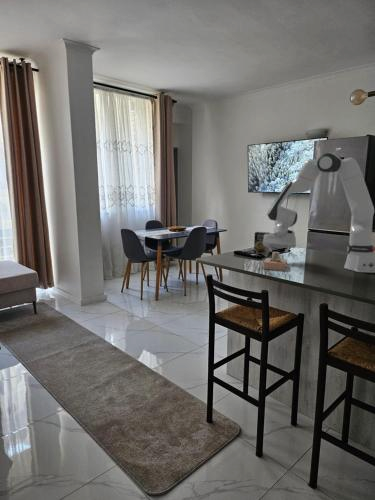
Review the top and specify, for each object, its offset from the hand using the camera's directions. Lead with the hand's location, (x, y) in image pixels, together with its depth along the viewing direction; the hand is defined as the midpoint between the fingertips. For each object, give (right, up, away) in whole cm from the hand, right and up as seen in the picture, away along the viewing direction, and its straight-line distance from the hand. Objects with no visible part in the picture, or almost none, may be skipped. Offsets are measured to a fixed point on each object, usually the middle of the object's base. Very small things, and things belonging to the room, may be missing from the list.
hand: (278, 251), depth 212 cm
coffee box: (-5, -3, +23) cm, 24 cm away
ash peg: (-4, -9, -10) cm, 14 cm away
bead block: (-4, -9, -10) cm, 14 cm away
